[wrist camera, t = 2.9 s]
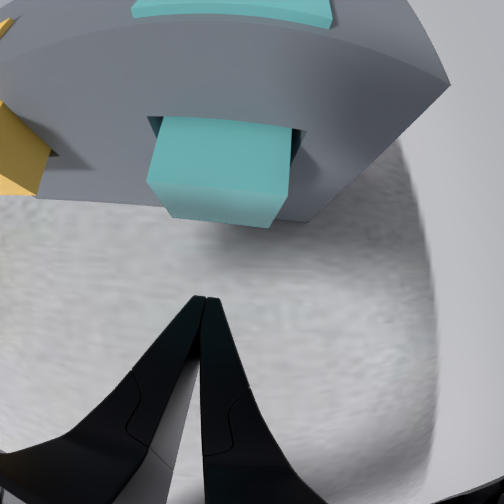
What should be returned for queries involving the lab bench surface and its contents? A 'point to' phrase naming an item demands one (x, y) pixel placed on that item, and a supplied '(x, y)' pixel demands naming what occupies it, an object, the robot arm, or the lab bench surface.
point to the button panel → (213, 85)
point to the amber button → (20, 155)
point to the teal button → (221, 170)
